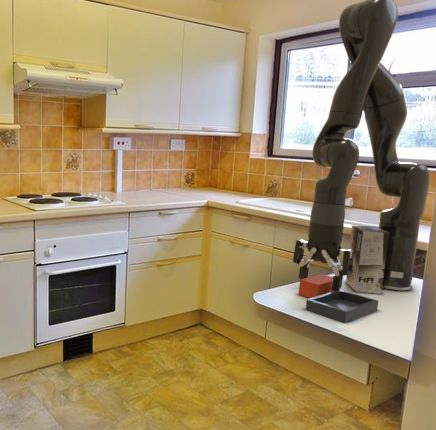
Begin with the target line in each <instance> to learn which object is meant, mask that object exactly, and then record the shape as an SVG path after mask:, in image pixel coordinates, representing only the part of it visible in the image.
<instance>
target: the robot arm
mask: <svg viewBox="0 0 436 430" xmlns="http://www.w3.org/2000/svg"><path fill="white" fill-rule="evenodd" d="M398 18H399V9H398V6H397V4H396V1H395V0H362V1H359V2H356V3H353V4H349V5H347V6H346V7H345V8H344V9H342V12H341V13H340V15H339V21H338V28H339V30H338V31H339V34H340V38H341V41H342V44H343V47H344V50H345V53H346V55H347V58H348V60H349V62H350V66H351V67H350V68H349V69H348V71H347V72H346V73H345V75H344V76H343V77H342V79H341V81H340V82H339V84H338V85H337V87H336V89H335V91H334V94H333V97H332V101H331V104H330V108H329V112H328V116H327V120H326V121H325V123H324V125H323V126H322V128H321V130H320V132H319V134H318V136H317V137H316V139H315V141H314V144H313V146H312V159H313V162H314V163H315V165H316V166H318V167H320V168H324V169H330V170H329V172H328V174H327V175H326V177H321V178H319V179H317V181H316V182H315V185H314V193H313V202H312V205H311V206H312V207H311V210H310V211H311V212H310V216H309V226H308V234H307V235H308V236H307V237H308V241H306V240H305V239H298V240H296V241H295V244H294V250H293V258H292V262H293V263H294V264H296V265H298V266H299V271H298V272H299V273H298V279H299V280H300V279H304V278H308V277H309V270H310V267H309V265H310V264H312V262H313V261H314V262H320V263H322V264H327V265H328V267H329V268H330V269H331V270H332V272H333V274H334V275H333V276H332V277H333V284H332V290H333V291H337V290H339V289H340V290H342V289H341V288H342V287H343V280H344V276H347V275H350V274H352V270H353V258H354V251H353V250H349V249H343V248H342V245H341V244H342V241H343V233H344V226H345V217H346V200H347V192H348V187H349V185H350V182H351V180H352V177H353V175H354V173H355V171H356V168H357V166H358V163H359V159H360V149H359V147H358V144H357V143H356V141H354V140H353V139H350V138H344V137H345V136H346V134H347V133H348V132H351V131H354V130H356V129H357V128H358V127H359V126H360V123H361V119H362V116H363V117H364V120H365V123H366V127H367V132H368V136H369V140H370V146H371V151H372V158H373V166H374V167H373V168H374V174H375V175H374V176H375V181H376V185H377V186H376V187H377V188H378V190H379V193H381V194H382V195H384V196H386V197H392V198H399V202H398V204H397V205H396V206H395V207H393V208H390V209H383V210H382V211H381V212H380V213H379V219H378V220H379V221H378V225H377V227H378V228H380V229H383V230H385V231H387V232H389V238H388V245H387V253H386V260H385V267H384V275H383V282H382V289H386V290H391V291H392V290H393V291H403V292H404V291H410V290H412V282H413V278H414V267H415V260H416V253H417V247H418V240H419V239H418V238H419V231H420V225H421V221H422V218H423V216H424V213H425V210H426V204H427V200H428V195H429V191H430V190H429V189H430V184H431V174H430V170H429V168H428V167H427V166H426V165H425V164H423V163H415V162H400V161H399V158H398V154H397V141H398V138H399V136H400V133H401V131H402V129H403V128H404V125H405V122H406V120H407V117H408V107H407V103H406V98H405V93H404V90H403V87H402V85H401V83H400V82H399V81H398V79H397V78H396V77H395V76H394V75H393V74H392V73H391V72H390V70H388V68H387V67H385V65H384V64H383V63H382V62H381V61H382V59H383V57H384V55H385V52H386V50H387V48H388V46H389V43H390V41H391V40H392V36H393V35H394V31H395V29H396V26H397V23H398ZM305 249H307V251H308V252H307V253H306V255H304V254H305ZM340 255H341V259H342V262H341V261H340V259H339V256H340Z"/></svg>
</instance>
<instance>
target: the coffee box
mask: <svg viewBox="0 0 436 430" xmlns="http://www.w3.org/2000/svg"><path fill="white" fill-rule="evenodd" d="M388 238H389V232H387V231H385V230H383V229H380V228H378V226H372V225H370V226H369V225H351V231H350V240H349V249H348V250H353V251H354V258H353V270H352V274H350V275H346V278H345V283H346V284H347V285H348V286H349V287H350V288H352V289H353V291H355V292H357V293H370V294H376V295H377V294H378V295H381V294H382V289H383V288H382V282H383V275H384V267H385V260H386V253H387V245H388Z"/></svg>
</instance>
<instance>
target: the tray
mask: <svg viewBox="0 0 436 430" xmlns="http://www.w3.org/2000/svg"><path fill="white" fill-rule="evenodd" d="M305 302H306V303H305V310H306V311H309V312H312V313H315V314H318V315H321V316H324V317H327V318H330V319H332V320H335V321H339V322H342V323H345V324H346V323H348V322H351V321H353V320H357V319H359V318H361V317H364V316H366V315H367V316H368V315H370V314H372V313H374V312H377V311H378V307H379V300H378V299H375V298H371V297H367V296H363V295H361V294H356V293H353V292H350V291H346V290H343V289H340V290H337V291H333V292H330V293H326V294H323V295H320V296H316V297H313V298H306V301H305Z"/></svg>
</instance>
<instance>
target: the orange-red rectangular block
mask: <svg viewBox="0 0 436 430" xmlns="http://www.w3.org/2000/svg"><path fill="white" fill-rule="evenodd" d="M332 284H333V276H332V275H328V274H324V273H321V274H317V275H313V276H308V278H304V279H299V285H298V296H301V297H304V298H306V299H310V298H313V297H316V296H320V295H323V294H326V293H330V292H333V290H332ZM339 290H341V289H339Z"/></svg>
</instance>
